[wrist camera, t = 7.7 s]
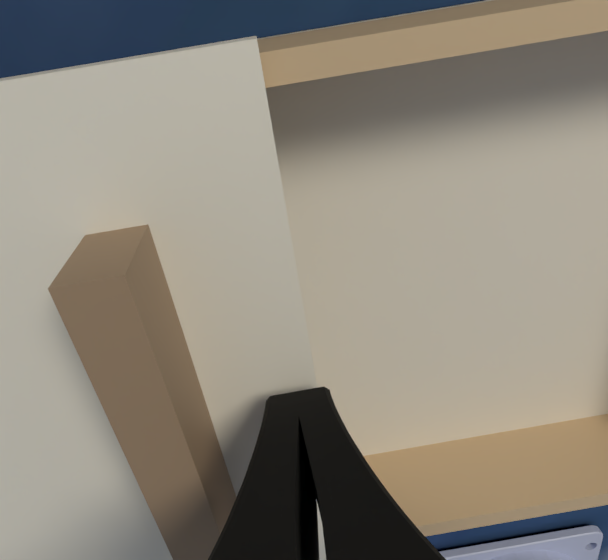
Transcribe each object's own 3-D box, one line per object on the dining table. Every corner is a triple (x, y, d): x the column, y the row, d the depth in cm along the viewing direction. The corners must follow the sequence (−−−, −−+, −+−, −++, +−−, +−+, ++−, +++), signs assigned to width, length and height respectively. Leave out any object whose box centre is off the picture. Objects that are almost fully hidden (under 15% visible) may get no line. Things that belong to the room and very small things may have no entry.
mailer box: (646, 409, 20) (719, 485, 17) (136, 497, 20) (114, 590, 16) (766, -47, 12) (936, -60, 9) (-58, 91, 12) (-162, 123, 9)
